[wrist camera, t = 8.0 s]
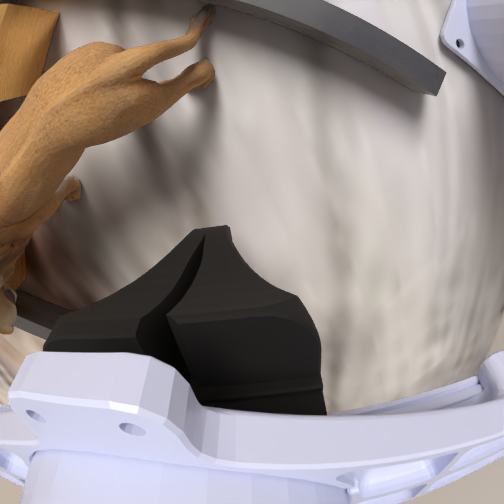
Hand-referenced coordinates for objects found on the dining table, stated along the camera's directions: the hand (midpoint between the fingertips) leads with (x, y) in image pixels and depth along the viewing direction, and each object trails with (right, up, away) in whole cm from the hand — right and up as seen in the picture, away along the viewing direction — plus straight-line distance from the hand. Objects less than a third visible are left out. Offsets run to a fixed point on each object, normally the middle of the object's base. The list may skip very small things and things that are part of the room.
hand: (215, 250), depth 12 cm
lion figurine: (-6, +5, +1) cm, 8 cm away
